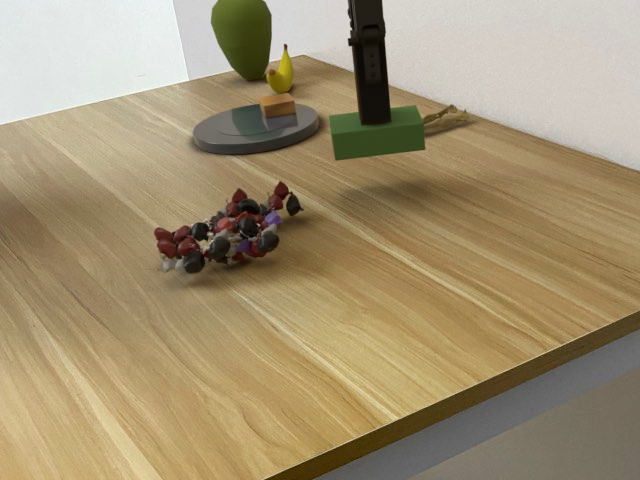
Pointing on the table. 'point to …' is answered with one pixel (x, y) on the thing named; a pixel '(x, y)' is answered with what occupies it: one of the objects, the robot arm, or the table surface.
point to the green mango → (244, 35)
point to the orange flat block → (277, 105)
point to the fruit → (281, 74)
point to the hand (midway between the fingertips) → (374, 112)
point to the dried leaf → (443, 119)
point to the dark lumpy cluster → (227, 232)
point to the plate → (254, 130)
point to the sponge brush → (376, 129)
